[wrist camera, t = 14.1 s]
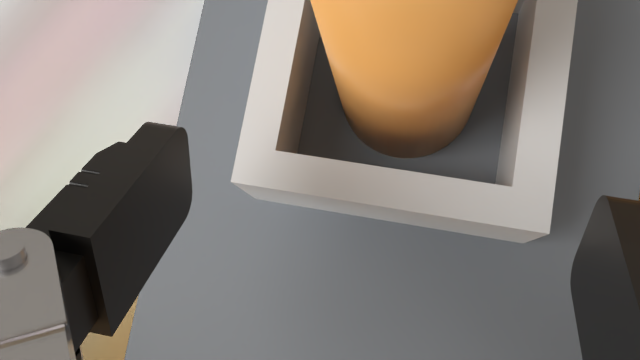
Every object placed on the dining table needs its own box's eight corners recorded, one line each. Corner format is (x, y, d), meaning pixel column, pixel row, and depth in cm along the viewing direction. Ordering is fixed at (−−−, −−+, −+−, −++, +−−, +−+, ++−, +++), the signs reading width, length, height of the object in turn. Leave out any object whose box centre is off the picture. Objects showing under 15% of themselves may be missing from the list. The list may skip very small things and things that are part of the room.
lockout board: (229, -60, 22) (193, -138, 18) (648, -17, 20) (712, -93, 16) (80, 615, 18) (-5, 705, 14) (569, 752, 16) (626, 899, 12)
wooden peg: (353, 26, 19) (308, -241, 10) (481, 41, 19) (573, -228, 9) (332, 148, 19) (260, -5, 9) (464, 167, 18) (540, 26, 8)
